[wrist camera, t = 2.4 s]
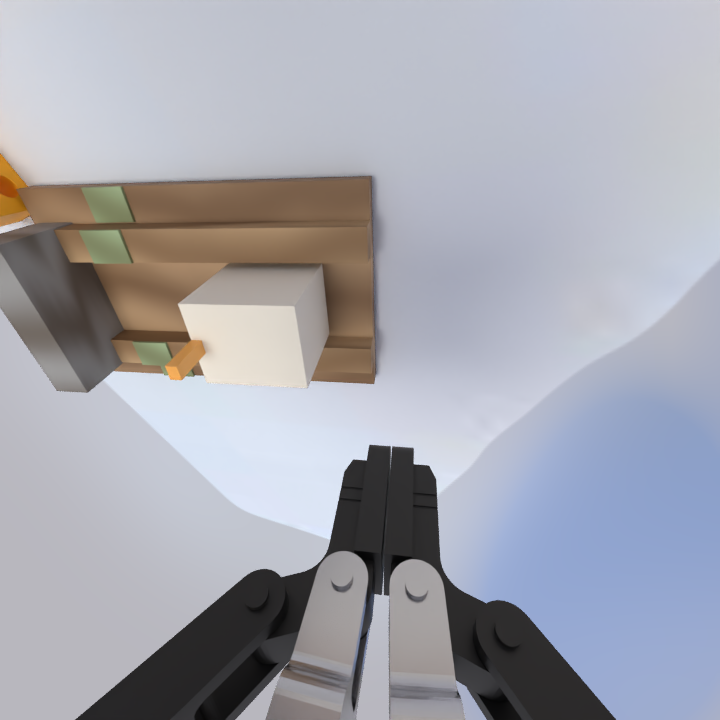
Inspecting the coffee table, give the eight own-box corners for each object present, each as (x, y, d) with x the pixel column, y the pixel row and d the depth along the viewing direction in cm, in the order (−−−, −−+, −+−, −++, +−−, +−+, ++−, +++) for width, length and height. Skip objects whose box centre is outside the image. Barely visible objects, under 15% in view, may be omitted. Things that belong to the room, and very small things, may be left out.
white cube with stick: (229, 262, 22) (147, 327, 16) (322, 263, 22) (278, 331, 15) (247, 331, 25) (184, 411, 18) (329, 333, 24) (295, 418, 18)
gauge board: (33, 185, 23) (-76, 206, 18) (371, 176, 20) (356, 196, 15) (124, 363, 31) (66, 411, 26) (375, 374, 28) (366, 431, 23)
